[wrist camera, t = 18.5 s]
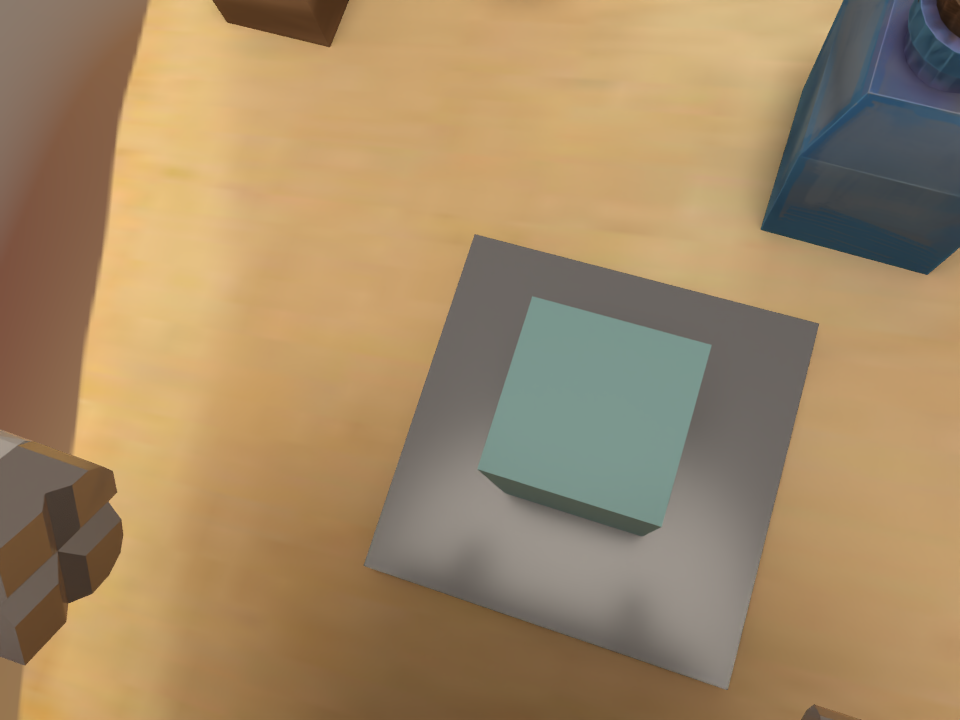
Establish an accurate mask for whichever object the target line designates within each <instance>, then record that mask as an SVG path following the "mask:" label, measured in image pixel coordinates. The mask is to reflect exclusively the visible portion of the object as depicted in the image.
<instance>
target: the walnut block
mask: <svg viewBox="0 0 960 720" xmlns="http://www.w3.org/2000/svg"><path fill="white" fill-rule="evenodd" d="M348 1H349V0H213V2H214V3H215V5H216V6H217V8H218V9H219V11H220V12H221V14H222V15H223V17H224V18H225V20H226V21H227V22H228V23H232V24H236V25H240V26H244V27H248V28H252V29H257V30H261V31H265V32H269V33H273V34H277V35H281V36H286V37H290V38H294V39H298V40H302V41H306V42H310V43H315V44H319V45H323V46H327V47H330V46H331V43H332V41H333V38H334V36H335V33H336V31H337V29H338V26H339V24H340V21H341V19H342V16H343V14H344V11H345V9H346V6H347V4H348Z"/></svg>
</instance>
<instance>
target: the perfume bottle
mask: <svg viewBox="0 0 960 720" xmlns="http://www.w3.org/2000/svg"><path fill="white" fill-rule="evenodd" d="M761 230H764V231H767V232H771V233H775V234H778V235H782V236H786V237H789V238H793V239H797V240H801V241H804V242H808V243H812V244H815V245H819V246H823V247H826V248H830V249H834V250H837V251H841V252H845V253H849V254H852V255H856V256H860V257H863V258H867V259H871V260H874V261H878V262H882V263H885V264H889V265H893V266H897V267H900V268H904V269H908V270H911V271H915V272H919V273H922V274H926V275H928V274H929V273H930V272H931V271H932V270H934V269H935V268H936V267H937V266H938V265H939V264H941V263H942V262H943V261H944V260H945V259H947V258H948V257H949V256H950V255H951V254H952V253H954V252H955V251H956V250H957V249H958V248H960V0H843V3H842V5H841V7H840V9H839V11H838V14H837V16H836V18H835V20H834V22H833V25H832V27H831V29H830V31H829V33H828V36H827V38H826V40H825V42H824V44H823V47H822V49H821V51H820V53H819V55H818V58H817V60H816V62H815V64H814V66H813V68H812V71H811V73H810V75H809V77H808V79H807V82H806V84H805V86H804V88H803V91H802V94H801V98H800V101H799V104H798V108H797V111H796V114H795V118H794V121H793V124H792V127H791V131H790V134H789V137H788V141H787V144H786V147H785V151H784V154H783V157H782V160H781V164H780V167H779V170H778V174H777V177H776V180H775V184H774V187H773V190H772V194H771V197H770V200H769V203H768V207H767V210H766V213H765V217H764V220H763V223H762V227H761Z"/></svg>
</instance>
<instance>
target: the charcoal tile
mask: <svg viewBox="0 0 960 720" xmlns="http://www.w3.org/2000/svg"><path fill="white" fill-rule="evenodd" d="M532 296H533V297H537V298H541V299H544V300H548V301H552V302H555V303H559V304H563V305H566V306H570V307H574V308H577V309H581V310H585V311H589V312H592V313H596V314H600V315H603V316H607V317H611V318H614V319H618V320H622V321H625V322H629V323H633V324H636V325H640V326H644V327H647V328H651V329H655V330H658V331H662V332H666V333H669V334H673V335H677V336H680V337H684V338H688V339H692V340H695V341H699V342H703V343H706V344H710V345H712V346H711V349H710V353H709V357H708V360H707V364H706V368H705V371H704V375H703V379H702V382H701V386H700V389H699V393H698V397H697V400H696V404H695V408H694V411H693V415H692V419H691V422H690V426H689V429H688V433H687V437H686V440H685V444H684V448H683V451H682V455H681V459H680V462H679V466H678V469H677V473H676V477H675V480H674V484H673V488H672V491H671V495H670V499H669V502H668V506H667V509H666V513H665V517H664V520H663V524H662V527H661V528H659V529H657V530H655V531H652V532H650V533H648V534H646V535H644V536H639V535H635V534H632V533H629V532H626V531H623V530H620V529H616V528H613V527H610V526H607V525H604V524H601V523H598V522H594V521H591V520H588V519H585V518H582V517H579V516H575V515H572V514H569V513H566V512H563V511H560V510H557V509H553V508H550V507H547V506H544V505H541V504H538V503H534V502H531V501H528V500H525V499H522V498H519V497H516V496H512V495H509V494H506V493H504V492H503V491H502V490H501V489H499V488H498V487H497V486H496V485H495V484H494V483H493V482H491V481H490V480H489V479H488V478H487V477H486V476H484V475H483V474H482V473H481V472H480V471H479V470H478V469H477V468H478V465H479V462H480V459H481V455H482V452H483V449H484V446H485V443H486V440H487V437H488V434H489V430H490V427H491V424H492V421H493V418H494V415H495V412H496V409H497V405H498V402H499V399H500V396H501V393H502V390H503V387H504V384H505V380H506V377H507V374H508V371H509V368H510V365H511V362H512V358H513V355H514V352H515V349H516V346H517V343H518V340H519V337H520V333H521V330H522V327H523V324H524V321H525V318H526V315H527V312H528V308H529V305H530V302H531V299H532ZM818 326H819V324H818V323H814V322H810V321H807V320H803V319H799V318H795V317H791V316H787V315H784V314H780V313H776V312H772V311H768V310H764V309H760V308H757V307H753V306H749V305H745V304H741V303H737V302H733V301H730V300H726V299H722V298H718V297H714V296H710V295H707V294H703V293H699V292H695V291H691V290H687V289H683V288H680V287H676V286H672V285H668V284H664V283H660V282H656V281H653V280H649V279H645V278H641V277H637V276H633V275H630V274H626V273H622V272H618V271H614V270H610V269H606V268H603V267H599V266H595V265H591V264H587V263H583V262H580V261H576V260H572V259H568V258H564V257H560V256H556V255H553V254H549V253H545V252H541V251H537V250H533V249H529V248H526V247H522V246H518V245H514V244H510V243H506V242H503V241H499V240H495V239H491V238H487V237H483V236H479V235H476V234H475V235H474V238H473V241H472V244H471V247H470V250H469V253H468V256H467V259H466V262H465V265H464V268H463V271H462V274H461V277H460V280H459V283H458V286H457V289H456V292H455V295H454V298H453V301H452V304H451V307H450V310H449V313H448V316H447V319H446V322H445V325H444V328H443V331H442V334H441V337H440V340H439V343H438V346H437V348H436V351H435V354H434V357H433V360H432V363H431V366H430V369H429V372H428V375H427V378H426V381H425V384H424V387H423V390H422V393H421V396H420V399H419V402H418V405H417V408H416V411H415V414H414V417H413V420H412V423H411V426H410V429H409V432H408V435H407V438H406V441H405V444H404V447H403V450H402V453H401V456H400V459H399V462H398V465H397V468H396V471H395V474H394V477H393V479H392V482H391V485H390V488H389V491H388V494H387V497H386V500H385V503H384V506H383V509H382V512H381V515H380V518H379V521H378V524H377V527H376V530H375V533H374V536H373V539H372V542H371V545H370V548H369V551H368V554H367V557H366V560H365V563H364V566H366V567H369V568H371V569H374V570H377V571H380V572H383V573H386V574H389V575H392V576H395V577H398V578H401V579H404V580H407V581H409V582H412V583H415V584H418V585H421V586H424V587H427V588H430V589H433V590H436V591H439V592H442V593H445V594H447V595H450V596H453V597H456V598H459V599H462V600H465V601H468V602H471V603H474V604H477V605H480V606H483V607H485V608H488V609H491V610H494V611H497V612H500V613H503V614H506V615H509V616H512V617H515V618H518V619H521V620H524V621H526V622H529V623H532V624H535V625H538V626H541V627H544V628H547V629H550V630H553V631H556V632H559V633H562V634H564V635H567V636H570V637H573V638H576V639H579V640H582V641H585V642H588V643H591V644H594V645H597V646H600V647H602V648H605V649H608V650H611V651H614V652H617V653H620V654H623V655H626V656H629V657H632V658H635V659H638V660H640V661H643V662H646V663H649V664H652V665H655V666H658V667H661V668H664V669H667V670H670V671H673V672H676V673H679V674H681V675H684V676H687V677H690V678H693V679H696V680H699V681H702V682H705V683H708V684H711V685H714V686H717V687H719V688H722V689H725V690H728V687H729V683H730V679H731V675H732V671H733V667H734V663H735V659H736V655H737V651H738V647H739V643H740V639H741V635H742V631H743V627H744V623H745V619H746V615H747V610H748V606H749V602H750V598H751V594H752V590H753V586H754V582H755V578H756V574H757V570H758V566H759V562H760V558H761V554H762V550H763V546H764V542H765V538H766V534H767V530H768V526H769V522H770V518H771V514H772V510H773V506H774V502H775V498H776V494H777V490H778V486H779V482H780V478H781V474H782V470H783V466H784V462H785V458H786V454H787V450H788V446H789V442H790V438H791V434H792V430H793V426H794V422H795V418H796V414H797V410H798V406H799V402H800V398H801V394H802V390H803V386H804V382H805V378H806V374H807V370H808V366H809V362H810V358H811V354H812V350H813V346H814V342H815V338H816V334H817V330H818Z"/></svg>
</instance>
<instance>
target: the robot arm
mask: <svg viewBox="0 0 960 720" xmlns="http://www.w3.org/2000/svg"><path fill="white" fill-rule="evenodd" d="M116 493H117V489H116V484H115V479H114V474H113V471H111V470H109V469H107V468H105V467H102V466H100V465H97V464H94V463H92V462H89V461H86V460H84V459H81V458H78V457H75V456H73V455H70V454H67V453H64V452H62V451H59V450H56V449H54V448H51V447H48V446H46V445H43V444H40V443H37V442H35V441H31V440H28V439H25V438H23V437H20V436H17V435H14V434H11V433H9V432H5V431H3V430H0V657H3V658H5V659H8V660H11V661H14V662H17V663H20V664H22V665H26V664H27V663H28V662H29V661H30V660H31V659H32V658H33V657H34V656H35V655H36V653H37V652H38V651H39V650H40V649H41V648H42V647H43V646H44V645H45V644H46V643H47V642H48V641H49V640H50V639H51V638H52V636H53V635H54V634H55V633H56V632H57V631H58V630H59V629H60V628H61V627H62V626H63V625H64V624H65V623H66V620H67V610H68V603H71V602H73V601H75V600H78V599H80V598H83V597H85V596H88V595H90V594H93V593H94V591H95V590H96V589H97V588H98V587H99V586H100V585H101V584H102V582H103V581H104V580H105V579H106V578H107V577H108V576H109V574H110V572H111V570H112V568H113V566H114V564H115V562H116V560H117V558H118V556H119V554H120V552H121V546H122V540H123V529H122V521H121V519H120V517H119V516H118V514H117V513H116V512H115V510H114V509H113V508H112V506H111V505H110V504H109V500H110V499H111V498H112V497H113V496H114V495H115V494H116ZM801 720H861V719H858V718H855V717H852V716H848V715H845V714H842V713H839V712H836V711H833V710H830V709H827V708H824V707H821V706H818V705H813V706H811V707H810V708H809V709H807V710H806V712H805V714H804V716H803V717H802V719H801Z"/></svg>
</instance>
